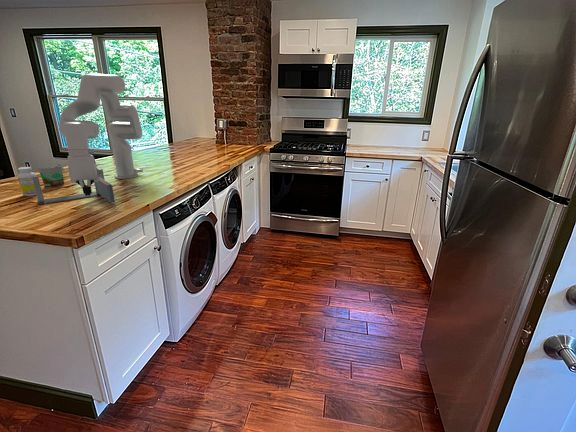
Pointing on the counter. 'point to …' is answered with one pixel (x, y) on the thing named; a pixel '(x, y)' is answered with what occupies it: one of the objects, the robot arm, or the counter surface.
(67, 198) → the gate frame
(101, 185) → the gate
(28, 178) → the supplement bottle
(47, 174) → the food container
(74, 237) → the counter surface
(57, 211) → the counter surface
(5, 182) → the counter surface
